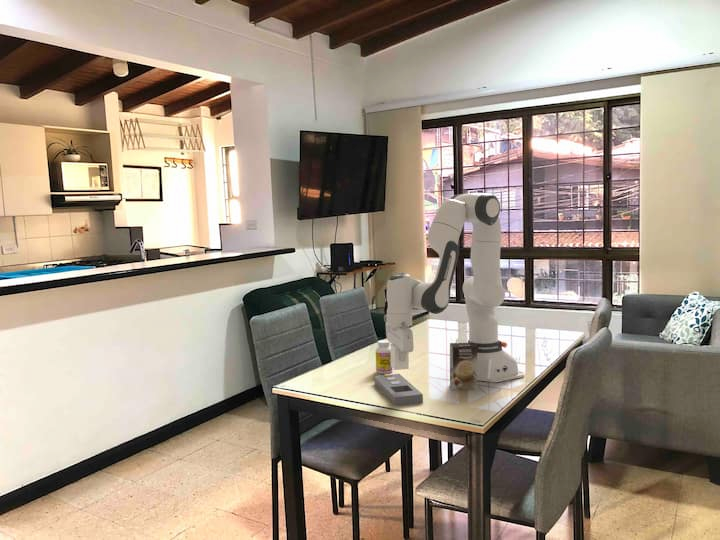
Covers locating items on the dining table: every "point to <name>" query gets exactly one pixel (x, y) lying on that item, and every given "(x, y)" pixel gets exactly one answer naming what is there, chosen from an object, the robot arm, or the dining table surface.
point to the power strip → (398, 389)
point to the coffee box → (463, 366)
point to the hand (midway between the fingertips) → (399, 358)
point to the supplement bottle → (383, 357)
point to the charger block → (395, 361)
